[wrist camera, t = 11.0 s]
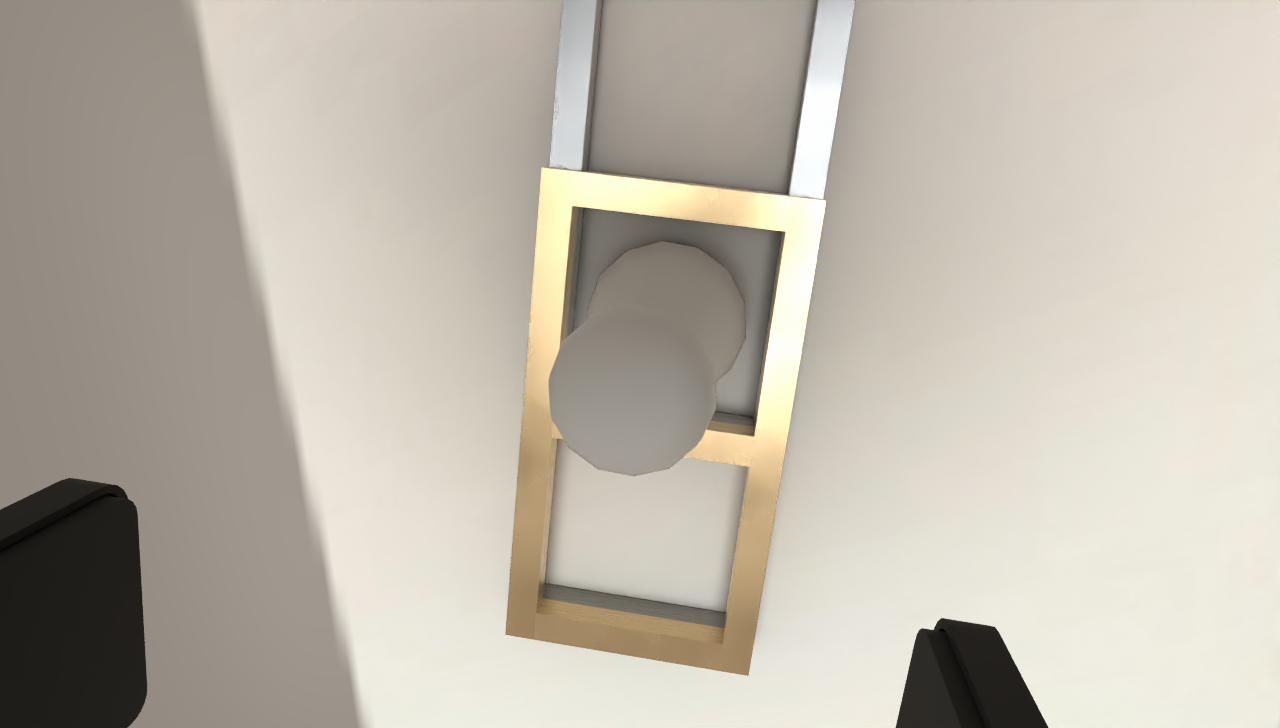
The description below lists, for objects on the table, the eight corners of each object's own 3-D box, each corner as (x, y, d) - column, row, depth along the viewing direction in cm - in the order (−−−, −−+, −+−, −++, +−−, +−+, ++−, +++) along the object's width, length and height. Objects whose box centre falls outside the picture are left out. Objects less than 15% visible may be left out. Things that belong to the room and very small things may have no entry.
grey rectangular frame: (577, -87, 30) (570, -97, 28) (861, -61, 29) (867, -71, 27) (536, 414, 34) (528, 423, 33) (779, 449, 33) (780, 460, 32)
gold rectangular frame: (556, 166, 32) (541, 167, 29) (820, 197, 31) (826, 201, 29) (520, 604, 37) (505, 634, 34) (748, 641, 36) (748, 675, 33)
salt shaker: (747, 380, 33) (748, 518, 20) (604, 383, 34) (520, 518, 21) (743, 230, 32) (742, 281, 19) (594, 237, 32) (498, 290, 20)
